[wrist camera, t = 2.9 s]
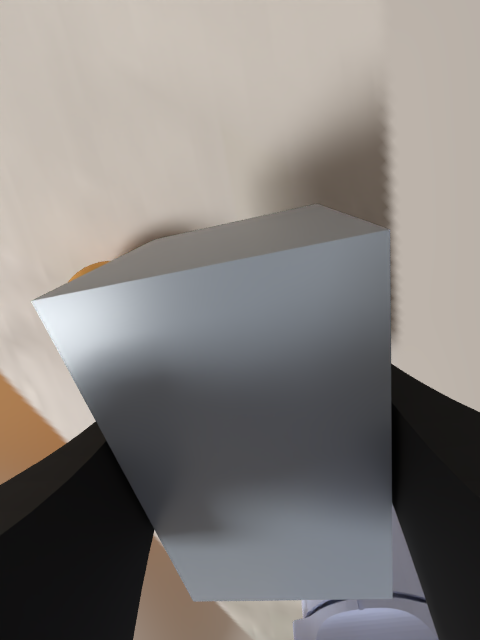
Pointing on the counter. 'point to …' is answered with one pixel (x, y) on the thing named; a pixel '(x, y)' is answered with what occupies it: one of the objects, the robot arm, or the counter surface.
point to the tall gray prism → (248, 399)
